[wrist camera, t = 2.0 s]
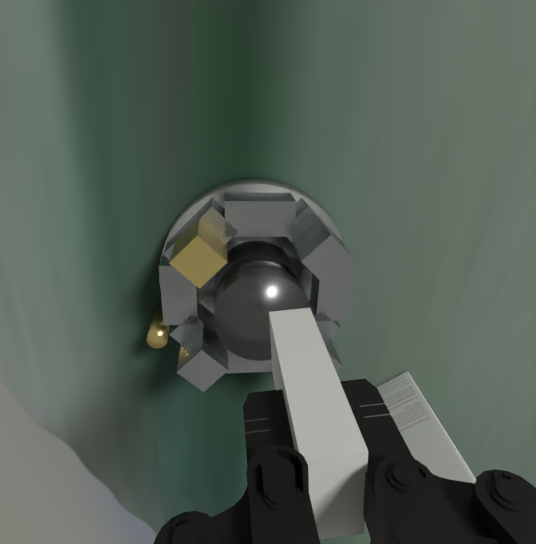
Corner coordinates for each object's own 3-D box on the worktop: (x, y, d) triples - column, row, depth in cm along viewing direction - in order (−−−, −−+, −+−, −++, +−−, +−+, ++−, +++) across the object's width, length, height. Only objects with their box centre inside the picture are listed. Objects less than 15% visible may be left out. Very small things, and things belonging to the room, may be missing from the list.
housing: (156, 176, 32) (134, 208, 24) (348, 178, 34) (390, 209, 25) (168, 343, 38) (155, 414, 30) (331, 338, 40) (360, 404, 32)
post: (153, 306, 36) (145, 331, 33) (172, 306, 37) (166, 330, 33) (154, 322, 37) (147, 348, 33) (173, 322, 37) (168, 348, 34)
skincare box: (435, 418, 45) (533, 570, 31) (381, 446, 46) (452, 606, 32) (405, 366, 42) (500, 510, 28) (348, 397, 43) (410, 552, 29)
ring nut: (126, 282, 32) (107, 322, 27) (258, 151, 29) (267, 166, 24) (253, 381, 37) (259, 432, 32) (376, 278, 34) (406, 314, 29)
